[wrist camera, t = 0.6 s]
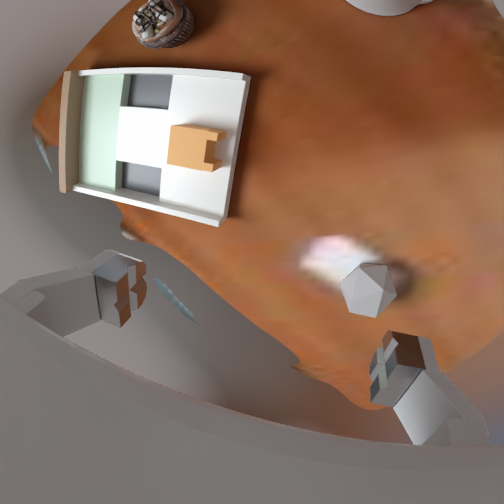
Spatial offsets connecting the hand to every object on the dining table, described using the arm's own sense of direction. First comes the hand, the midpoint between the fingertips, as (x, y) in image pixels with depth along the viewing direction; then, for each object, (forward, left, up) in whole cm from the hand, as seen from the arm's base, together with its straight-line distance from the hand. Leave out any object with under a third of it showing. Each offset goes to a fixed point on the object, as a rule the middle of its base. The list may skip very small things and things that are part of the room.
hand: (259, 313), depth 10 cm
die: (+18, +14, -40) cm, 46 cm away
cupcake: (-18, -27, -40) cm, 52 cm away
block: (+2, -18, -38) cm, 42 cm away
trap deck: (+2, -29, -40) cm, 50 cm away
